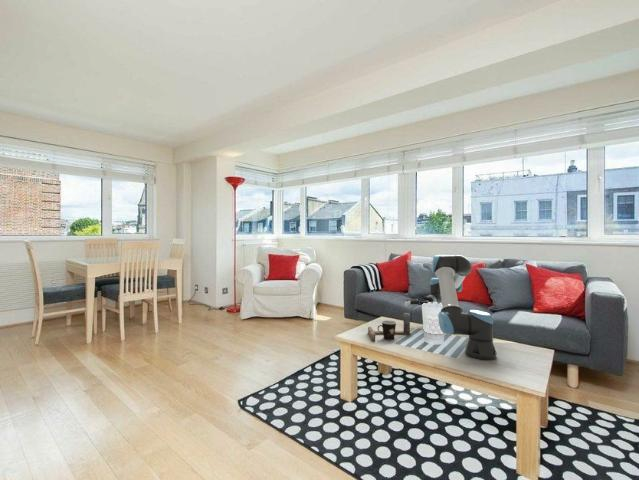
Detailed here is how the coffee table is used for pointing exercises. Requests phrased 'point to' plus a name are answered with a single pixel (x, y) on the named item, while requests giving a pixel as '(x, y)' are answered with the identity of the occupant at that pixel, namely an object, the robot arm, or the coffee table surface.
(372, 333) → the brown uneven shapes
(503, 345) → the coffee table surface
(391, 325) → the coffee mug
